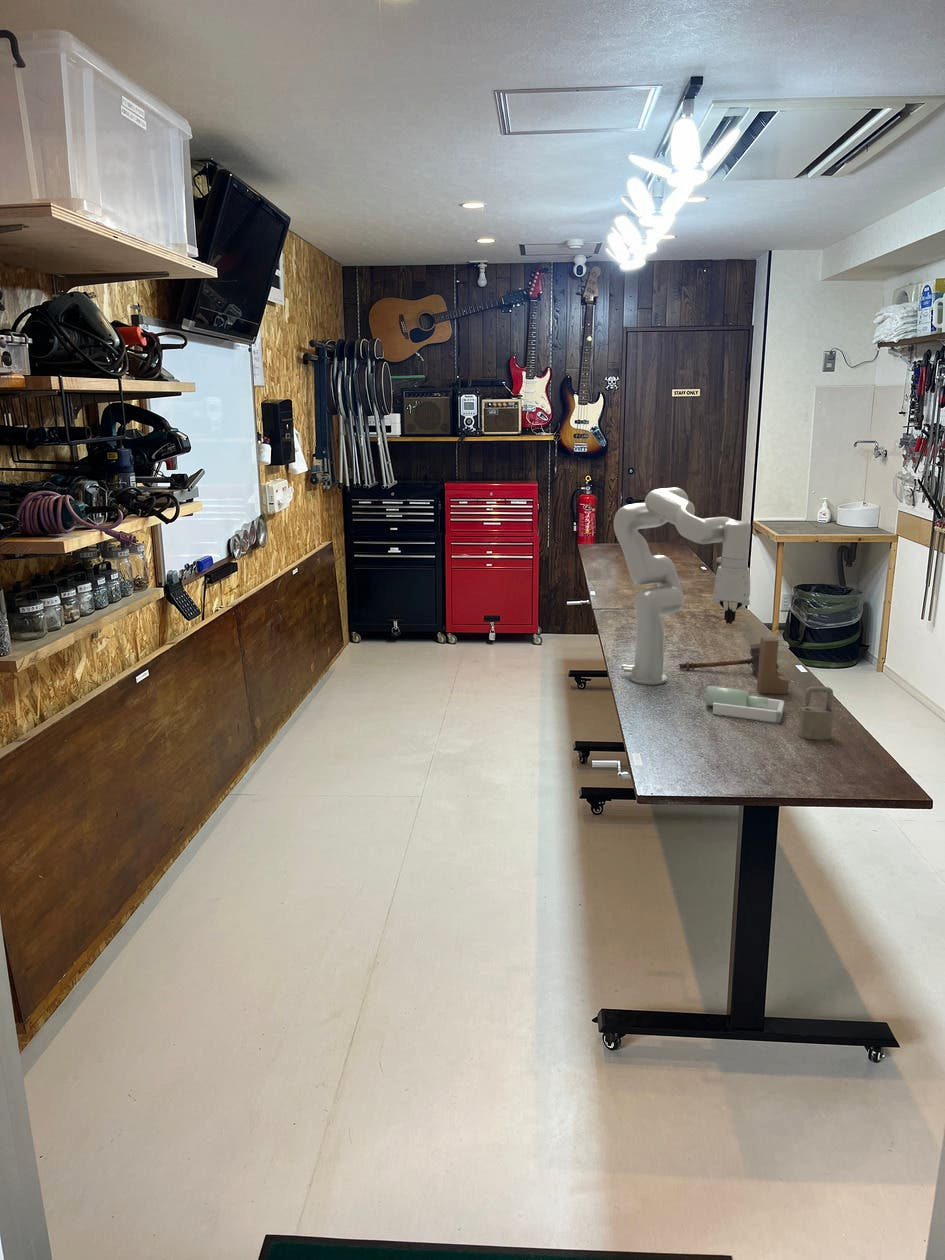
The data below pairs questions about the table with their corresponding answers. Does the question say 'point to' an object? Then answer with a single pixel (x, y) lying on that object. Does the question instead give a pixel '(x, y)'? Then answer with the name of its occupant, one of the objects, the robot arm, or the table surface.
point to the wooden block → (770, 669)
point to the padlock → (816, 716)
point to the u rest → (753, 711)
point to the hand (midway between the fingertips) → (729, 622)
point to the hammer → (755, 661)
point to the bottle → (733, 697)
